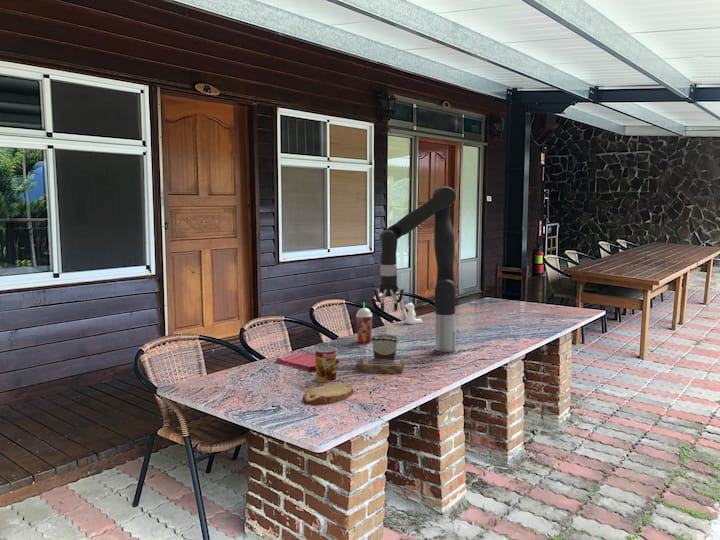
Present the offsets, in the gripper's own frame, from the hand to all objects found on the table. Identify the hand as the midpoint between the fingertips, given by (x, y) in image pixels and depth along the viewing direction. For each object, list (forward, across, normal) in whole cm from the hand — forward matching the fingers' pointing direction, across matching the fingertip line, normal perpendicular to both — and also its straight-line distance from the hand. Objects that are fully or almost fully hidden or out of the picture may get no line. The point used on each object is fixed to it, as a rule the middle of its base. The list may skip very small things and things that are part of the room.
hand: (389, 311), depth 274 cm
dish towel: (+20, +33, +22) cm, 44 cm away
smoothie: (+20, +15, -18) cm, 31 cm away
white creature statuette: (+20, -3, -66) cm, 69 cm away
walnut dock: (+19, 0, +27) cm, 33 cm away
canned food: (+20, +19, +44) cm, 52 cm away
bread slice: (+20, +13, +64) cm, 68 cm away
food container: (+20, 0, +10) cm, 22 cm away
